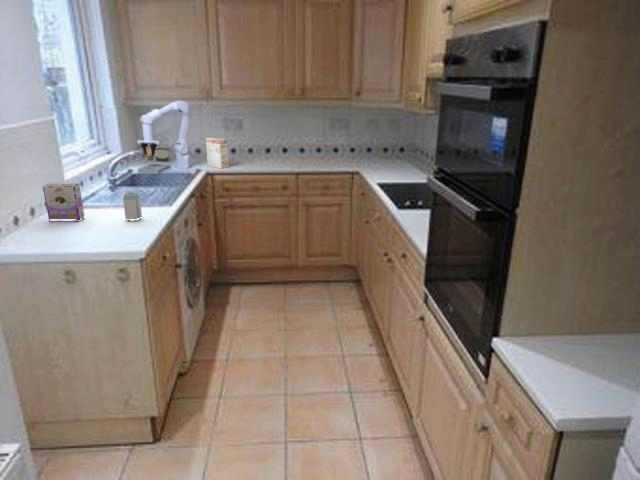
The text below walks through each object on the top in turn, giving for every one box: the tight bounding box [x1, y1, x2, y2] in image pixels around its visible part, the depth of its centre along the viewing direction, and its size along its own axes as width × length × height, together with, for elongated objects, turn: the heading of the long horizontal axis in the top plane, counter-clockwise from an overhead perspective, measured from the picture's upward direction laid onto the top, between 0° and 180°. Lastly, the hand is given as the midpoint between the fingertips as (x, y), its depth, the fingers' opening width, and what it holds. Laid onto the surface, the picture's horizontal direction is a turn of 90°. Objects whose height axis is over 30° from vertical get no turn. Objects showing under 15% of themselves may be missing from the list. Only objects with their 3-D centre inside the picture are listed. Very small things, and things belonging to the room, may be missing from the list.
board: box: [137, 163, 171, 175], centre depth 322 cm, size 14×18×2 cm
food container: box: [154, 146, 171, 163], centre depth 353 cm, size 12×6×10 cm, turn 84°
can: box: [122, 192, 143, 220], centre depth 219 cm, size 7×7×12 cm
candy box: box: [42, 182, 85, 220], centre depth 217 cm, size 14×6×16 cm, turn 92°
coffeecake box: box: [205, 136, 229, 169], centre depth 335 cm, size 15×7×20 cm, turn 51°
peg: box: [146, 145, 154, 162], centre depth 319 cm, size 4×4×9 cm
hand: (149, 154), depth 319 cm, fingers closed on peg, 4 cm apart
